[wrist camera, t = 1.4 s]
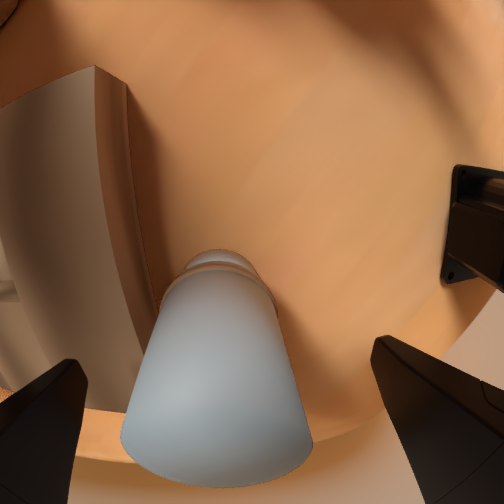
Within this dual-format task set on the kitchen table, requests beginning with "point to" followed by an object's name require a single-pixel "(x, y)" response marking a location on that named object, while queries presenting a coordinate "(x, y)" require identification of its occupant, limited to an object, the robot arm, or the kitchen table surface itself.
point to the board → (72, 239)
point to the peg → (217, 383)
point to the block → (6, 9)
